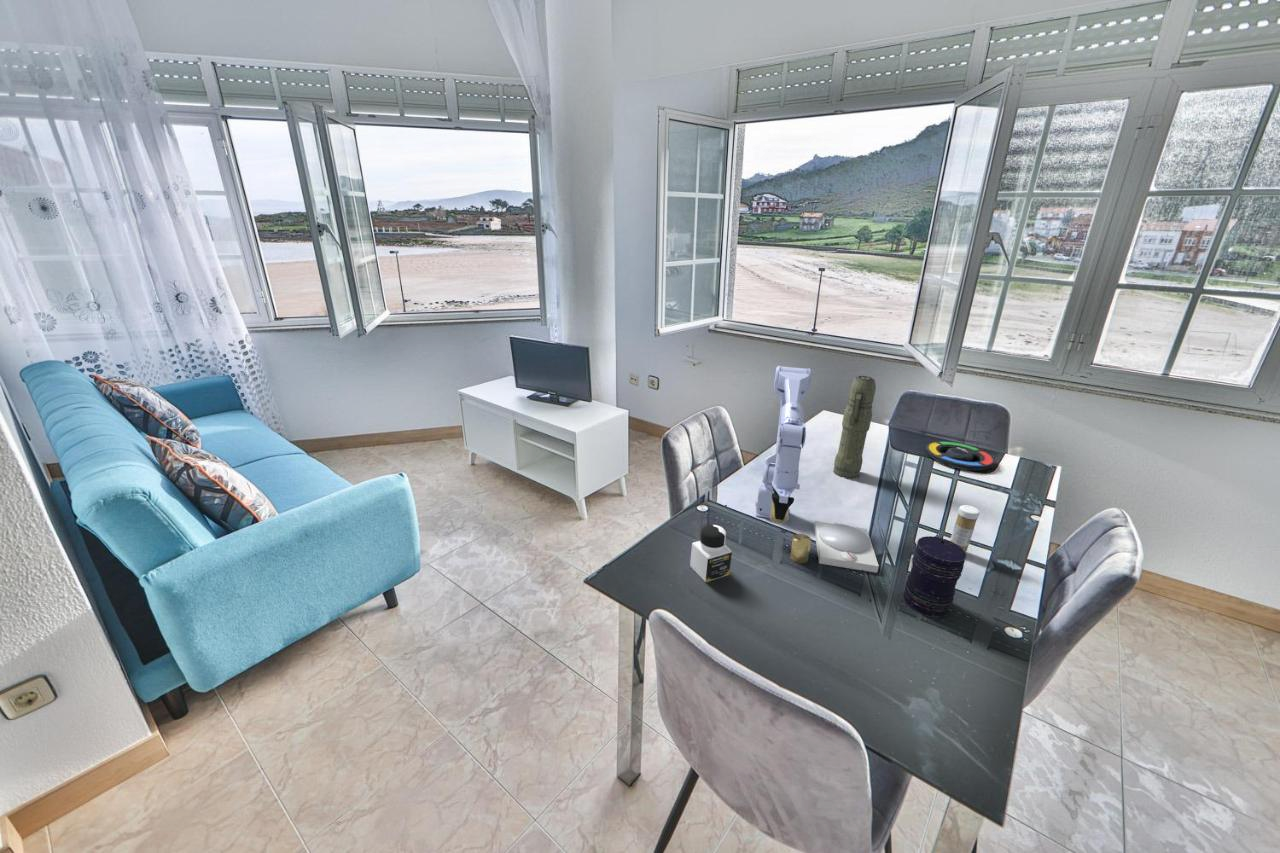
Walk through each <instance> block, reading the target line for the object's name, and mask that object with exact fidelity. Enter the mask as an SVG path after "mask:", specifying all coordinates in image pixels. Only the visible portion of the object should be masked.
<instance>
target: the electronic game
mask: <svg viewBox="0 0 1280 853" xmlns="http://www.w3.org/2000/svg"><path fill="white" fill-rule="evenodd" d="M939 450H947V451H945V452H943V451H939ZM925 452H926V454H927V455H928V456H930V457H931V458H932V459H933V460H934V459H935V460H936V461H935V460H934V461H935V462H937V461H938V462H937V463H939V462H940V463H939V464H941V463H942V464H941V465H943V464H944V466H946V467H950V468H952V467H953V469H956V468H957V469H958V470H961V469H962V471H968V470H970V471H969V472H979V470H980V471H984V470H989V469H991V468H993V467H994V465H995V462H996V460H995V458H994V457H993V456H992V455H991V454H989V453H988V452H987V451H984V449H983V450H982V449H980V448H978V447H975V446H973V445H969V444H965V443H960V442H955V441H947V440H946V441H944V440H941V441H939V440H937V441H932V442H930V443H928V444H927V445H926V447H925ZM976 458H977V459H976ZM974 459H976V460H978V459H979V460H980V461H979V460H978V461H973V460H974Z"/></svg>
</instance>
